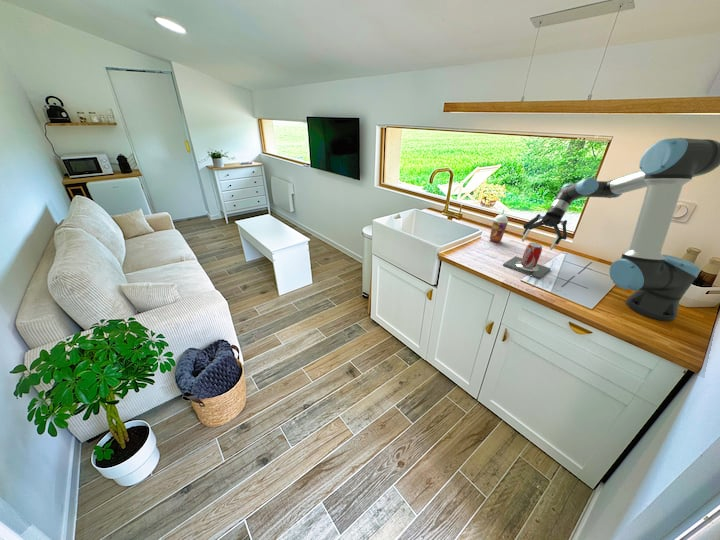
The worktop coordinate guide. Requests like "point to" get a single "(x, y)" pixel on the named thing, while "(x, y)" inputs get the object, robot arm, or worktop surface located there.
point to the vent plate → (535, 272)
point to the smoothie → (498, 228)
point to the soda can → (531, 255)
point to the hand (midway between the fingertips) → (536, 244)
